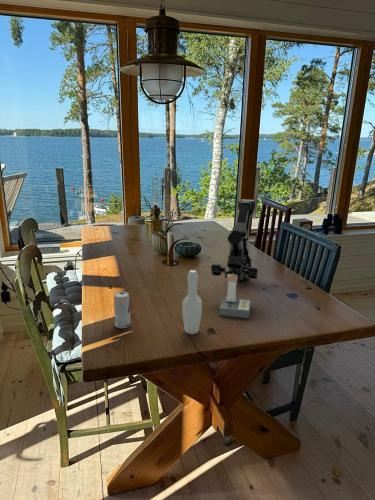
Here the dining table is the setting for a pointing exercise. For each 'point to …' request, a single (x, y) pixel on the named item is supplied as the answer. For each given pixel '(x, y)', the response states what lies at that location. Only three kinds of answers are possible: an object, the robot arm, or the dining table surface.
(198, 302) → the faceted bottle
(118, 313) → the energy drink
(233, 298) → the slider knob
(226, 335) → the dining table surface
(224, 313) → the switch unit
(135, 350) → the dining table surface
